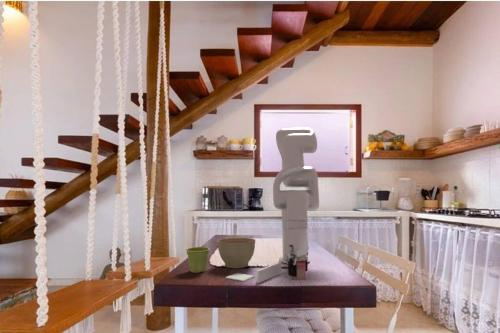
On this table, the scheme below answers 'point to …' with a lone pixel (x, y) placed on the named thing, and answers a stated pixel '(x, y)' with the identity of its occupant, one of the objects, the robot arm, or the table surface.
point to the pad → (240, 277)
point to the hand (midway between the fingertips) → (298, 273)
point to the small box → (300, 268)
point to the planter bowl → (236, 251)
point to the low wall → (268, 272)
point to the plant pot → (197, 258)
